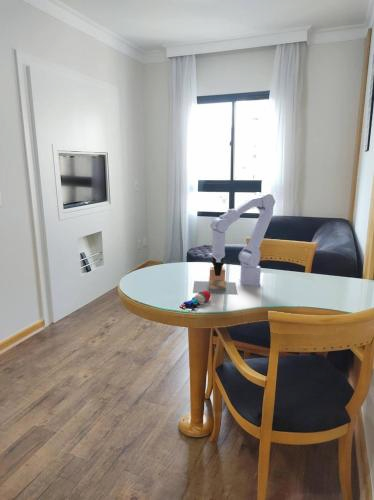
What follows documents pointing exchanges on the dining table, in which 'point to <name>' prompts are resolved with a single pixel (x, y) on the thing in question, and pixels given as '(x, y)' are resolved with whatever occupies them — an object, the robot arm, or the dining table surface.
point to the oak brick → (217, 284)
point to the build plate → (203, 286)
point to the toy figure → (198, 299)
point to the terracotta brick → (213, 277)
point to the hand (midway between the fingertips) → (217, 273)
